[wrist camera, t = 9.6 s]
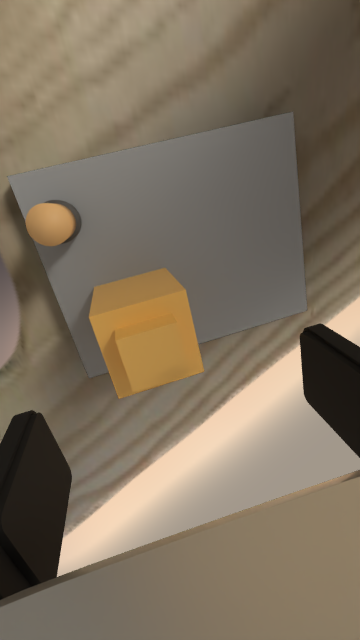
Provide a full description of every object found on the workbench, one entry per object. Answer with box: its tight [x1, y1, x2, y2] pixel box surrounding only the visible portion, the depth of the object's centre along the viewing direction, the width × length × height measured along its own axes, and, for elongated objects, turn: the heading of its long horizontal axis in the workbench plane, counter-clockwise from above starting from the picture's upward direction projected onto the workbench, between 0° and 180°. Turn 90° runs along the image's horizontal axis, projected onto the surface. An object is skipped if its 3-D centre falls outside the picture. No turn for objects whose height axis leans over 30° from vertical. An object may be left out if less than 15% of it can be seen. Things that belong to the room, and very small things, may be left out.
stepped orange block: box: [89, 268, 204, 399], centre depth 19 cm, size 5×5×8 cm
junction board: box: [7, 112, 307, 378], centre depth 20 cm, size 18×14×6 cm
